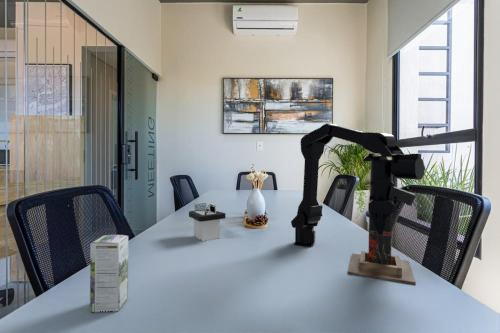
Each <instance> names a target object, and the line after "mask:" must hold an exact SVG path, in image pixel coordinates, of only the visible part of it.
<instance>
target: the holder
mask: <svg viewBox="0 0 500 333" xmlns="http://www.w3.org/2000/svg"><path fill="white" fill-rule="evenodd" d="M368 252H369V251H364V250H362V251H361V252H360V253H351V258H350V262H349V266H348V270H347V274H348V275H353V276H359V277H366V278H372V279H373V278H374V279H379V280H384V281H389V282H390V281H392V282H397V283H403V284H404V283H405V284H410V285H416V284H417V283H416V279H415V276H414V273H413V269H412V267H411V264H410V261H409V260H405V259H401V258H400V256H399V255H394V254H391V265H385V264H378V263H371V262H368Z"/></svg>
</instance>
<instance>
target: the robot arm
mask: <svg viewBox="0 0 500 333" xmlns="http://www.w3.org/2000/svg"><path fill="white" fill-rule="evenodd" d="M333 138H336V139H340V140H343V141H347V142H350V143H353V144H356V145H359V146H360V147H362V148H363V149H365V150H367V151H368V152H370V153H368V154H367V156H365V157H364V158H363V162H370V175H369V177H370V178H369V185H370V186H369V198H368V200H369V201H368V203H367V205H368V209H367V210H368V214H369V213H370V215H371V218H372V220H373V223H374V225H375V228H376V230H377V233H378V235H383V231H384V227H385V223H386V220H387V217H389V216H390V215H391V214H392V215H393V214H395V212H396V205H395V203H394V201H395V200H396V201H399V202H401V203H404V204H405V205H406V206H409V207H412V205H413V203H414V201H415V199H416V197H417V195H416V194H415V193H413V192H411V191H410V188H409V187H408V186H405V185H403V186H402V187H397V186H395V183H394V181H393V176H394V178H396V179H399V180H414V181H421V180H422V179H423V178H424V175H425V171H426V165H425V163H424V161H423V160H424V159H423V158H422V153H419V152H418V153H416V152H415V153H409V154H408V153H407V154H405V153H404V151H402V149H401V148H400V146H399V145H398V144H397V138H396V136H395V135H393V134H390V133H385V132H372V131H371V132H369V131H368V132H366V131H361V130H357V129H353V128H350V127H346V126H342V125H341V126H340V125H337V124H336V123H330V122H329V123H328V122H326V123H324V124H323V125H321V126H320V127H319V128H316V129H314V130H311V131H310V132H309V133H307V134H304V135H303V136H302V137H301V138H300V141H299V142H300V153H301V154H302V156H303V159H304V167H303V168H304V169H303V186H302V187H303V189H302V191H303V192H302V200H301V201H300V202H299V205H298V207H297V211H296V212H297V213H296V215H295V216H294V217H293V219H291V221H290V224H291V228H294V229H295V230H294V231H295V232H294V239H295V240H294V242H293V245H296V246H304V247H313V245H314V244H315V243H316V231H315V227H318V225H319V221H321V219H322V217H323V205H322V204H319V202H318V185H319V184H318V182H319V167H320V166H319V164H320V159H321V157H322V155H323V153H324V152H325V146H326V145H328V144H329V143H330V142H331V141H332V140H333ZM376 154H379V155H376ZM388 158H392V159H388Z"/></svg>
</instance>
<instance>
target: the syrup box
mask: <svg viewBox="0 0 500 333" xmlns="http://www.w3.org/2000/svg"><path fill="white" fill-rule="evenodd" d="M89 245H90V248H89V250H90V252H89V254H90V257H89V264H90V265H89V266H90V268H89V269H90V270H89V273H90V275H89V284H90V286H89V287H90V288H89V291H90V292H89V303H90V304H89V312H90V313H91V312H94V313H110V311H113V312H120V310H121V308H122V307H123V306H124V304H125V303H126V301H127V300H128V298H129V235H125V234H108V235H107V234H105V235H102V236H101V237H99V238H97V239H96V240H94V241H92V242H91V243H90V244H89ZM100 311H101V312H100ZM102 311H103V312H102ZM105 311H106V312H105ZM108 311H109V312H108Z"/></svg>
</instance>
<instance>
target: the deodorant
mask: <svg viewBox="0 0 500 333" xmlns="http://www.w3.org/2000/svg"><path fill="white" fill-rule="evenodd" d="M392 232H393V214H391V215H390V216H389V217H387V220H386V223H385V227H384V231H383V235H378V233H377V230H376V228H375V225H374V223H373V220H372V218H371V215H370V213H369V212H368V251H367V252H368V262H371V263H378V264H385V265H391V255H392V247H393V246H392V241H393V239H392V238H393V233H392Z"/></svg>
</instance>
